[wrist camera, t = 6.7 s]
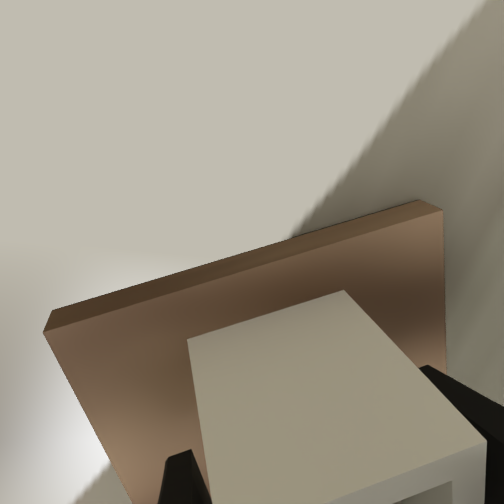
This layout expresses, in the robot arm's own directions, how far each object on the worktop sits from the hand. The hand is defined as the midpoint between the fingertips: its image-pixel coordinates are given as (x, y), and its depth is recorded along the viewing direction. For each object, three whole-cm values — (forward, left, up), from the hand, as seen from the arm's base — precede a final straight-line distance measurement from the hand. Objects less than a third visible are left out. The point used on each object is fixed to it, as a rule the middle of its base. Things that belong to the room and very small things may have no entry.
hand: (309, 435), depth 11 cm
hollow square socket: (0, 0, -3) cm, 3 cm away
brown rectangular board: (-5, 0, -4) cm, 6 cm away
